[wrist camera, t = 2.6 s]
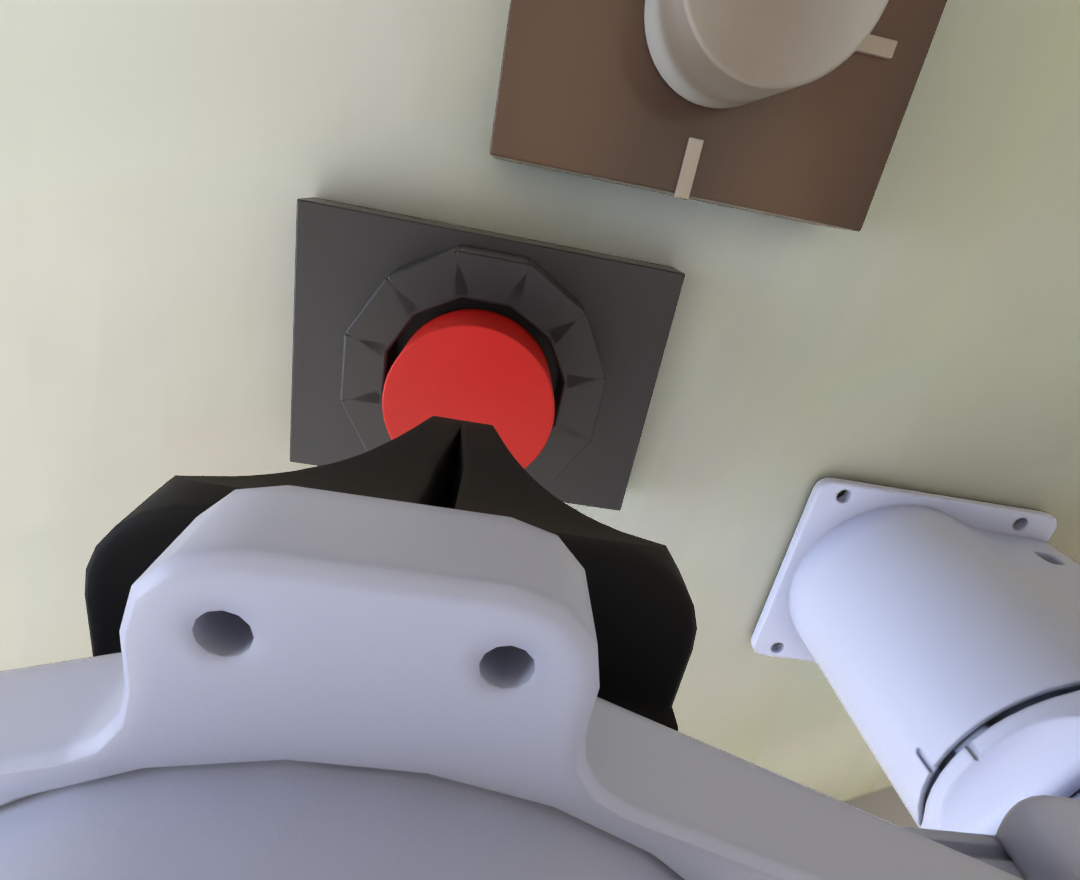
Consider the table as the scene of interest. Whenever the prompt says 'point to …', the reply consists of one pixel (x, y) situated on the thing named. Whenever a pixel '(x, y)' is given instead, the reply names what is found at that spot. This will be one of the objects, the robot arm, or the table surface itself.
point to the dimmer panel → (704, 114)
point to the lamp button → (473, 380)
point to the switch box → (488, 284)
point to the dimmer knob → (752, 44)
